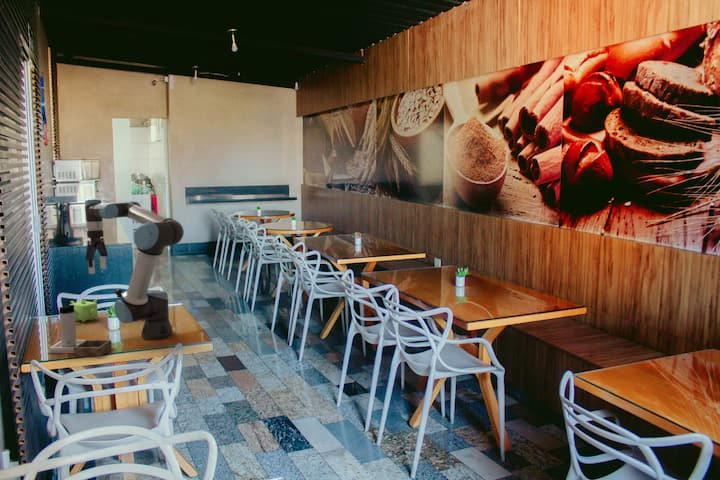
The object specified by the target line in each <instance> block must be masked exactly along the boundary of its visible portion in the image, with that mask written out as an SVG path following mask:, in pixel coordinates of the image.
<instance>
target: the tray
mask: <svg viewBox="0 0 720 480" xmlns="http://www.w3.org/2000/svg"><path fill="white" fill-rule="evenodd" d="M85 340H86V339H76V343H77V345H79V344H80V343H82V342H83V341H85ZM75 347H76V346H75ZM48 351H49V354H74V347H62V342H61V340H60V341H58V342H56V343H55V344H53V345H52V346H50V347H49V350H48Z"/></svg>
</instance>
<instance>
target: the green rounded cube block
mask: <svg viewBox="0 0 720 480" xmlns="http://www.w3.org/2000/svg"><path fill="white" fill-rule="evenodd" d="M97 301H98V299H94V300H93V301H87V300H85V299H83V300H80V301H79V302H78V301H77V302H75V301H73V300H70V304H69V305H74V313H75V322H80V321H81V322H85V323H86V321H88V320H89V321H94V320H93V319H96V318H98V317H99V316H98V314H99V313H98V302H97ZM81 322H80V323H81Z"/></svg>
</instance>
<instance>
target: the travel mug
mask: <svg viewBox="0 0 720 480" xmlns="http://www.w3.org/2000/svg"><path fill="white" fill-rule="evenodd" d="M59 323H60V341H61V342H62V347H75V346H77V343H76V340H77V330H76V321H75V313H74V305H70V304H67V305H63V306H61V307H59Z"/></svg>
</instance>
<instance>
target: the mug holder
mask: <svg viewBox="0 0 720 480" xmlns="http://www.w3.org/2000/svg"><path fill="white" fill-rule="evenodd" d="M84 340H85V341H83V342H82V343H80V344H79V345H77V346H76V347H74V353H73V357H74V358H75V357H76V358H77V357H78V358H79V357H81V358H82V357H84V358H85V357H88V358H89V357H91V358H92V357H94V358H95V357H98V358H99V357H103V356H104V355H106V354H107V352H109V351H110V350H111V349H113V347H112V339H84Z"/></svg>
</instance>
